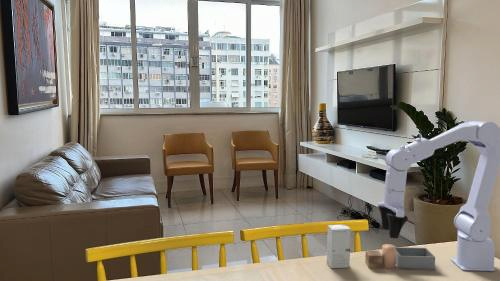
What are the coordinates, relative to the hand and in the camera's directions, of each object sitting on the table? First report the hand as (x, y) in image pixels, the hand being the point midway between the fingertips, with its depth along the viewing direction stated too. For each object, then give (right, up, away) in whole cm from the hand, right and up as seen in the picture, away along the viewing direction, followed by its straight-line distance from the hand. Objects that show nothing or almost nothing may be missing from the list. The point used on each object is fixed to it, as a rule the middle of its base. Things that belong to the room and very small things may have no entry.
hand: (389, 233), depth 115 cm
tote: (+8, -10, +2) cm, 13 cm away
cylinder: (0, -10, +1) cm, 10 cm away
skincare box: (-15, -10, +2) cm, 19 cm away
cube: (-4, -10, +1) cm, 11 cm away
